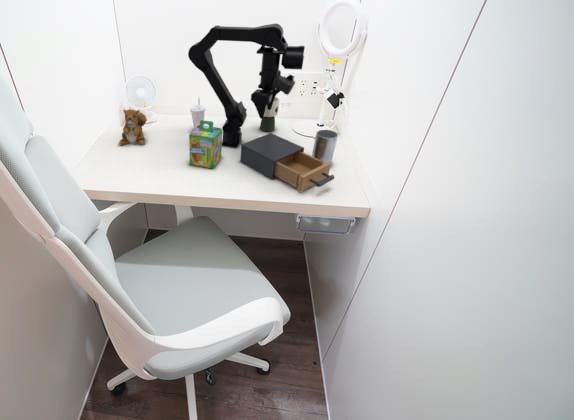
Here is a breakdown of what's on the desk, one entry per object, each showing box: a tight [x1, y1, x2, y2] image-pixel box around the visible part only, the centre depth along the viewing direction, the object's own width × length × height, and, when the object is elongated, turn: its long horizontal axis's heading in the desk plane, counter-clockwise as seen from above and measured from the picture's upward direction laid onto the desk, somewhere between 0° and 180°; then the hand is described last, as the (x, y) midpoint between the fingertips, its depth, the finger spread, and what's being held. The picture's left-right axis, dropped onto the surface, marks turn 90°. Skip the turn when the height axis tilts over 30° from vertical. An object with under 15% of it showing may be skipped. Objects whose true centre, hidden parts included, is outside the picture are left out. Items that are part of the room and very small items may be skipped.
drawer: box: [274, 151, 335, 193], centre depth 102 cm, size 18×13×5 cm
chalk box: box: [188, 120, 223, 170], centre depth 112 cm, size 9×9×15 cm
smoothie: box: [189, 97, 207, 130], centre depth 134 cm, size 6×6×14 cm
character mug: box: [259, 96, 280, 132], centre depth 132 cm, size 11×7×13 cm, turn 171°
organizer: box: [239, 132, 305, 180], centre depth 111 cm, size 15×14×7 cm
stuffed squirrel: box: [118, 108, 148, 146], centre depth 129 cm, size 10×14×13 cm
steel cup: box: [311, 129, 339, 164], centre depth 109 cm, size 7×7×11 cm
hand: (265, 113), depth 116 cm, fingers open, 9 cm apart
